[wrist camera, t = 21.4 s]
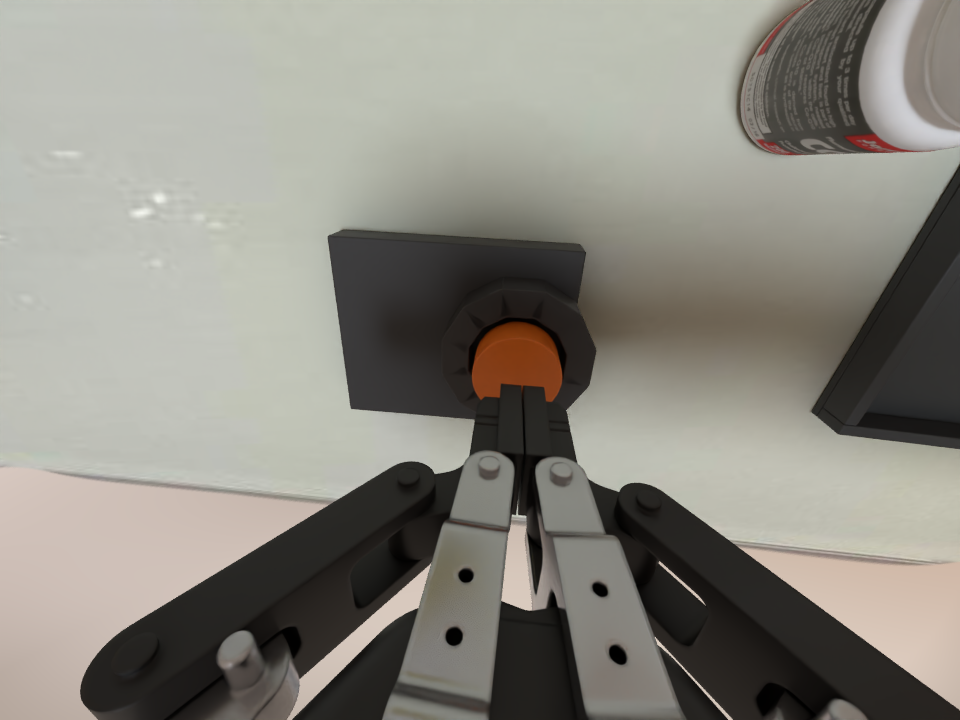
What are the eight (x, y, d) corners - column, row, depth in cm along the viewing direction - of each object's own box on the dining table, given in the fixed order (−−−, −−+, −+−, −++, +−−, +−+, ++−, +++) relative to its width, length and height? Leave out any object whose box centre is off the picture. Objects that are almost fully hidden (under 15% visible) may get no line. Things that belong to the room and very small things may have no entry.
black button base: (597, 245, 17) (614, 263, 14) (567, 409, 21) (575, 451, 18) (342, 229, 18) (306, 243, 15) (361, 392, 22) (336, 430, 19)
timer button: (563, 324, 16) (569, 341, 14) (552, 397, 18) (555, 419, 16) (477, 317, 16) (473, 334, 14) (474, 390, 18) (470, 412, 16)
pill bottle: (739, 173, 16) (942, 184, 8) (732, 33, 14) (993, -119, 6) (875, 128, 15) (1250, 93, 7) (889, -31, 13) (1425, -304, 5)
